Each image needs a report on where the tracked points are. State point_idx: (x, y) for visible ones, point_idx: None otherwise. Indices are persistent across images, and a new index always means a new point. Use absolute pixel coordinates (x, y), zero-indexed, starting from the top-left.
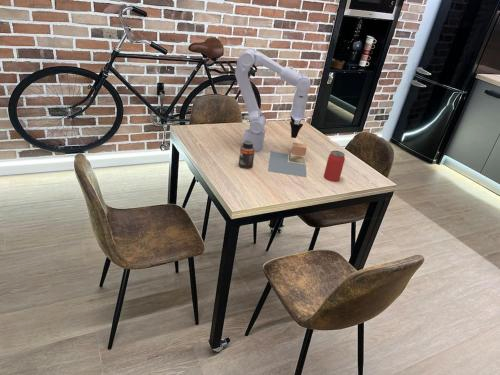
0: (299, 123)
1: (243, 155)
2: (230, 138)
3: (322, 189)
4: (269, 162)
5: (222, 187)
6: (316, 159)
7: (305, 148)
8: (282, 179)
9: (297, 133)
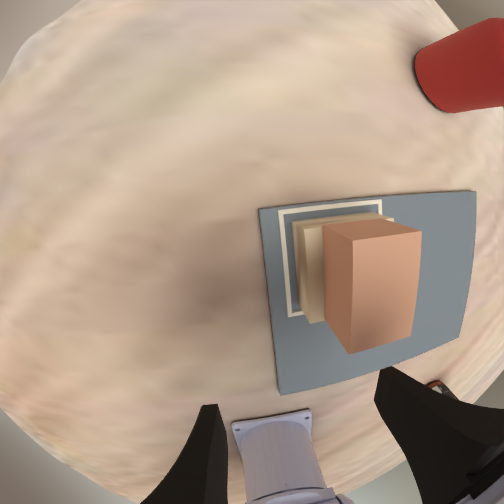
0: (481, 469)
1: None
2: None
3: (497, 135)
4: (401, 360)
5: (494, 376)
6: (238, 131)
7: (419, 239)
8: (482, 276)
9: (429, 390)
